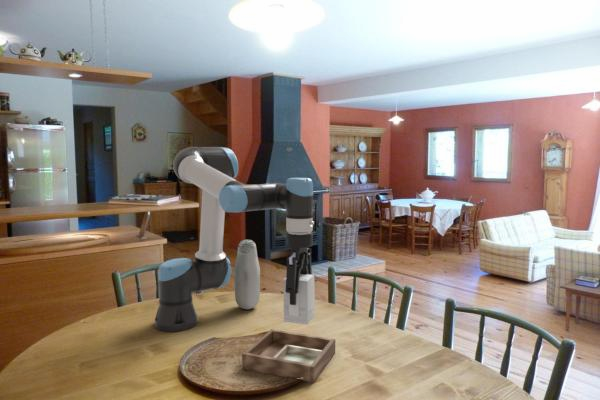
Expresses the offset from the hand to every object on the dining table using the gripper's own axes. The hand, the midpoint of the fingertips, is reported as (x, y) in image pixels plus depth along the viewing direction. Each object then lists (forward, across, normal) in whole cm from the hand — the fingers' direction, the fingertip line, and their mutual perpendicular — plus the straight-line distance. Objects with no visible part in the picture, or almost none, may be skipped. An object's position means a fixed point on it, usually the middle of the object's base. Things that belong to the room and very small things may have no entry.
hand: (299, 310), depth 131 cm
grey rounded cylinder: (+17, +40, +38) cm, 58 cm away
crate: (+17, +3, +4) cm, 18 cm away
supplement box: (+3, 0, 0) cm, 3 cm away
